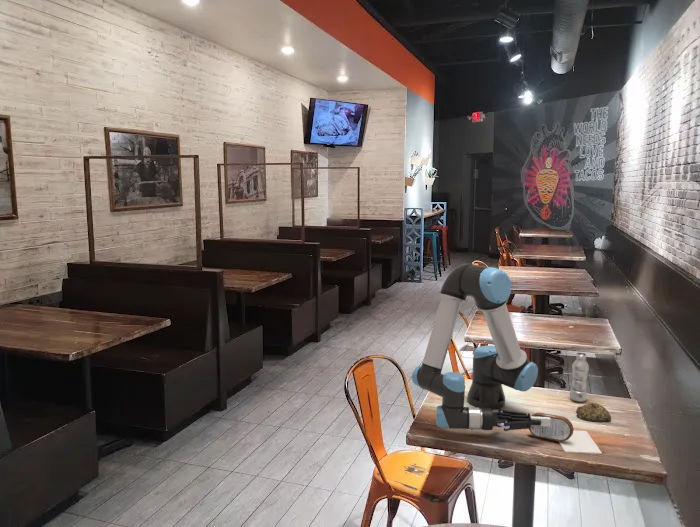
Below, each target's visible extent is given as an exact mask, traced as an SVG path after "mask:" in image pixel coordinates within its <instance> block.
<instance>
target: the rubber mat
mask: <svg viewBox="0 0 700 527" xmlns="http://www.w3.org/2000/svg"><path fill="white" fill-rule="evenodd" d="M557 442H558V443H559V445H560V447H561V448H562V450H563V452H564V453H567V454H587V455H602V454H603V452H602V450H600V448H599V447H598V445H597V444H596V442H595V441H594V440H593V438H592V437H591V436H590V434H589V433H588V431H587V430H575V429H573V434H572V436H571V437H570V438H569V439H568V440H566V441H557Z"/></svg>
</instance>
